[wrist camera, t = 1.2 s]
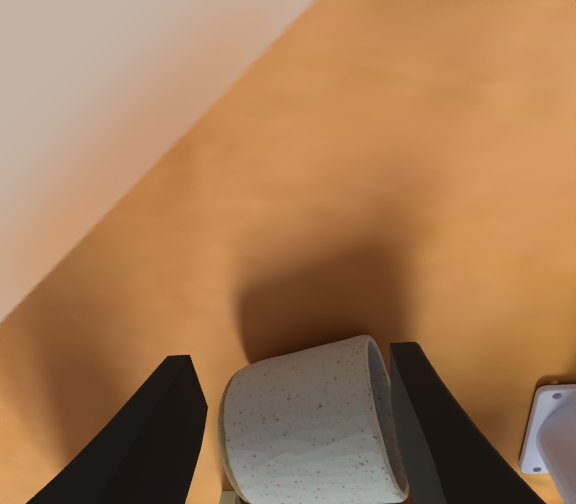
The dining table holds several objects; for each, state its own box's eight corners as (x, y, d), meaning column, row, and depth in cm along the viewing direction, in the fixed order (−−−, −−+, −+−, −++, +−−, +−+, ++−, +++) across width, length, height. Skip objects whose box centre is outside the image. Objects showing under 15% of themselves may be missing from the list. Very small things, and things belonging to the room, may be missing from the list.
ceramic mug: (224, 342, 24) (189, 473, 17) (361, 303, 22) (380, 434, 15) (295, 447, 29) (289, 581, 22) (412, 424, 26) (443, 563, 20)
